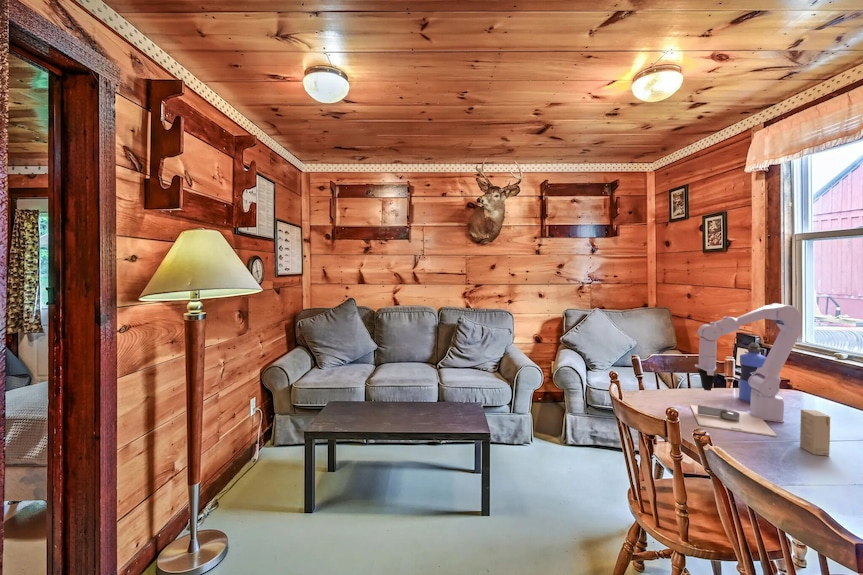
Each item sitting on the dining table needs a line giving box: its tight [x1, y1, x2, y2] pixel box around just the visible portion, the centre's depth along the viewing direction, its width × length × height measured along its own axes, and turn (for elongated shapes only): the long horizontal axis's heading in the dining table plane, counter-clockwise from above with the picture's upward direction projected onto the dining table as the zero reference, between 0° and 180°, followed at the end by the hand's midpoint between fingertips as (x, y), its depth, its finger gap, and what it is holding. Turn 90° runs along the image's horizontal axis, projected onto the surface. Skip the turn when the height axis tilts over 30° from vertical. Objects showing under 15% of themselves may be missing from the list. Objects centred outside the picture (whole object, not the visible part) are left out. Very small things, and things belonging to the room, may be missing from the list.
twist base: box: [690, 404, 777, 438], centre depth 149 cm, size 22×22×1 cm
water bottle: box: [738, 342, 767, 404], centre depth 170 cm, size 9×9×25 cm
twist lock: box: [697, 404, 740, 421], centre depth 150 cm, size 13×6×3 cm, turn 64°
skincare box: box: [799, 409, 831, 456], centre depth 123 cm, size 6×4×12 cm
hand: (706, 388), depth 156 cm, fingers open, 3 cm apart
